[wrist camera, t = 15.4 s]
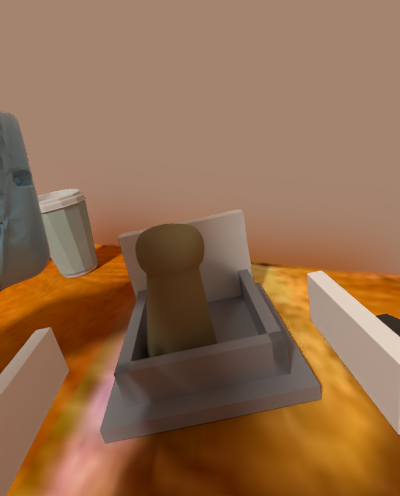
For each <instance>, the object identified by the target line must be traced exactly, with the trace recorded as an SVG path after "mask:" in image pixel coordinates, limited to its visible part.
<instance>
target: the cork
mask: <svg viewBox="0 0 400 496" xmlns="http://www.w3.org/2000/svg"><path fill="white" fill-rule="evenodd" d="M135 252H136V258H137V261H138V263H139V266H140V268H141V269H142V270H143V271H144V272H145V273H146V279H147V341H148V358H151V357H156V356H160V355H165V354H170V353H175V352H180V351H185V350H189V349H194V348H199V347H204V346H209V345H214V344H217V341H216V336H215V332H214V328H213V324H212V319H211V315H210V311H209V307H208V302H207V298H206V294H205V290H204V285H203V281H202V277H201V273H200V269H199V266H200V264H201V263H202V261H203V258H204V240H203V238H202V235H201V234H200V232H199V231H198V230H197V229H196V228H195V227H193V226H191V225H187V224H164V225H159V226H155V227H152V228H149V229H147V230H145V231H144V232H142V233H141V234H140V235H139V237H138V239H137V241H136V246H135Z"/></svg>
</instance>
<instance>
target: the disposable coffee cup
mask: <svg viewBox="0 0 400 496" xmlns="http://www.w3.org/2000/svg"><path fill="white" fill-rule="evenodd" d="M37 198H38V202H39V206H40V210H41V214H42V218H43V222H44V226H45V231H46V235H47V239H48V244H49V249H50V257H51V258H52V260H53V262H54V263H55V265H56V266H57V268H58V270H59V271H60V273H61V274H62V275H64V277H65V278H74V277H79V276H82V275H85V274H87V273H89V272H91V271H93V270H94V269H95V268H96V267H97V262H98V261H97V256H96V252H95V247H94V242H93V237H92V232H91V227H90V222H89V217H88V213H87V207H86V202H85V199H86V198H85V197H84V194H83V193H80V191H79V189H67V190H59V191H56V192H51V193H47V194H44V195H40V196H37Z"/></svg>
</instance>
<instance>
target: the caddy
mask: <svg viewBox="0 0 400 496" xmlns="http://www.w3.org/2000/svg"><path fill="white" fill-rule="evenodd" d="M171 224H187V225H191V226H193V227H195V228H196V229H197V230H198V231H199V232H200V234H201V235H202V238H203V240H204V258H203V261H202V263H201V264H200V266H199V269H200V273H201V277H202V281H203V285H204V290H205V294H206V298H207V302H208V307H209V311H210V315H211V319H212V324H213V328H214V332H215V336H216V341H217V344H214V345H209V346H204V347H199V348H194V349H189V350H185V351H180V352H175V353H170V354H165V355H160V356H156V357H151V358H148V341H147V279H146V273H145V272H144V271H143V270H142V269H141V268H140V266H139V263H138V261H137V258H136V252H135V246H136V241H137V239H138V237H139V235H140V234H141V233H142V232H144V231H145V230H147V229H149V228H147V229H142V230H138V231H133V232H128V233H123V234H120V236H119V237H118V241H119V244H120V247H121V251H122V254H123V257H124V260H125V264H126V267H127V270H128V274H129V277H130V280H131V284H132V287H133V290H134V293H135V297H136V302H135V306H134V309H133V312H132V316H131V319H130V322H129V326H128V329H127V332H126V336H125V339H124V342H123V346H122V349H121V352H120V356H119V359H118V363H117V366H116V369H115V373H114V376H115V381H114V384H113V388H112V391H111V395H110V398H109V401H108V405H107V408H106V412H105V415H104V419H103V422H102V426H101V429H100V432H101V434H102V437H103V439H104V441H105V444H106V443H111V442H116V441H121V440H125V439H130V438H135V437H140V436H145V435H150V434H155V433H159V432H164V431H169V430H174V429H179V428H184V427H189V426H193V425H198V424H203V423H208V422H213V421H218V420H223V419H227V418H232V417H237V416H242V415H247V414H252V413H257V412H261V411H266V410H271V409H276V408H281V407H286V406H291V405H295V404H300V403H305V402H310V401H315V400H320V399H321V389H320V384H319V383H318V381H317V379H316V377H315V376H314V374H313V372H312V371H311V369H310V367H309V366H308V364H307V362H306V361H305V359H304V357H303V356H302V354H301V352H300V350H299V349H298V347H297V345H296V344H295V342H294V340H293V339H292V337H291V335H290V334H289V332H288V330H287V329H286V327H285V325H284V323H283V322H282V320H281V318H280V317H279V315H278V313H277V312H276V310H275V308H274V307H273V305H272V303H271V302H270V300H269V298H268V296H267V295H266V293H265V291H264V290H263V288H262V286H261V285H260V283H257V284H255V282H254V281H253V275H252V268H251V261H250V255H249V249H248V242H247V235H246V229H245V222H244V216H243V211H242V210H240V209H238V210H233V211H229V212H224V213H219V214H215V215H209V216H205V217H200V218H195V219H190V220H185V221H181V222H176V223H171Z"/></svg>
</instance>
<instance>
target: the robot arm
mask: <svg viewBox="0 0 400 496" xmlns="http://www.w3.org/2000/svg"><path fill="white" fill-rule="evenodd" d="M49 260H50V249H49V244H48V239H47V235H46V231H45V226H44V222H43V218H42V214H41V210H40V206H39V202H38V198H37V194H36V190H35V187H34V183H33V180H32V174H31V171H30V167H29V163H28V158H27V154H26V149H25V145H24V142H23V138H22V134H21V130H20V127H19V123H18V120H17V119H16V118H15V116H13V115H12V114H10V113H2V112H0V291H1V290H2V289H4V288H6V287H9V286H12V285H14V284H17V283H20V282H22V281H25V280H27V279H30V278H33V277H35V276H37V275H38V274H40V273H41V272H42V271H43V270H44V269H45V268H46V266H47V264H48V262H49ZM307 282H308V293H309V305H310V316H311V321H312V323H313V324H314V325H315V326H316V328H317V329H318V330H319V332H320V333H321V334H322V336H323V337H324V338H325V339H326V341H327V342H328V343H329V345H330V346H331V347H332V349H333V350H334V351H335V353H336V354H337V355H338V356H339V358H340V359H341V360H342V362H343V363H344V364H345V366H346V367H347V368H348V369H349V371H350V372H351V373H352V375H353V376H354V377H355V379H356V380H357V381H358V383H359V384H360V385H361V386H362V388H363V389H364V390H365V392H366V393H367V394H368V396H369V397H370V398H371V400H372V401H373V402H374V403H375V405H376V406H377V407H378V409H379V410H380V411H381V413H382V414H383V415H384V416H385V418H386V419H387V420H388V422H389V423H390V424H391V426H392V427H393V428H394V430H395V431H396V432H397V433H398V435H399V434H400V319H398V318H395V317H393V316H391V315H388V314H382V315H378V316H375V315H373V314H372V313H371V312H370V311H369V310H367V309H366V308H365V307H364V306H363V305H362V304H360V303H359V302H358V301H357V300H356V299H355V298H353V297H352V296H351V295H350V294H349V293H348V292H346V291H345V290H344V289H343V288H342V287H340V286H339V285H338V284H337V283H336V282H335V281H333V280H332V279H331V278H330V277H329V276H328V275H326V274H325V273H324V272H323V271H317V272H312V273H308V274H307ZM68 372H69V369H68V366H67V364H66V362H65V359H64V357H63V355H62V352H61V350H60V347H59V345H58V343H57V340H56V338H55V336H54V333H53V331H52V329H51V327H48V328H43V329H39V330H36V331H35V332H34V333H33V334H32V336H31V337H30V338H29V339H28V341H27V342H26V343H25V344H24V345H23V347H22V348H21V349H20V350H19V352H18V353H17V354H16V355H15V357H14V358H13V359H12V360H11V362H10V363H9V364H8V365H7V367H6V368H5V369H4V370H3V372H2V373H1V374H0V496H6V495H7V493H8V491H9V489H10V487H11V485H12V483H13V481H14V479H15V477H16V475H17V473H18V471H19V469H20V467H21V465H22V463H23V461H24V459H25V457H26V455H27V453H28V451H29V449H30V447H31V445H32V443H33V441H34V439H35V437H36V435H37V433H38V431H39V429H40V427H41V425H42V424H43V422H44V420H45V418H46V416H47V414H48V412H49V410H50V408H51V406H52V404H53V402H54V400H55V398H56V396H57V394H58V392H59V390H60V388H61V386H62V384H63V382H64V380H65V378H66V376H67V374H68Z"/></svg>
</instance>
